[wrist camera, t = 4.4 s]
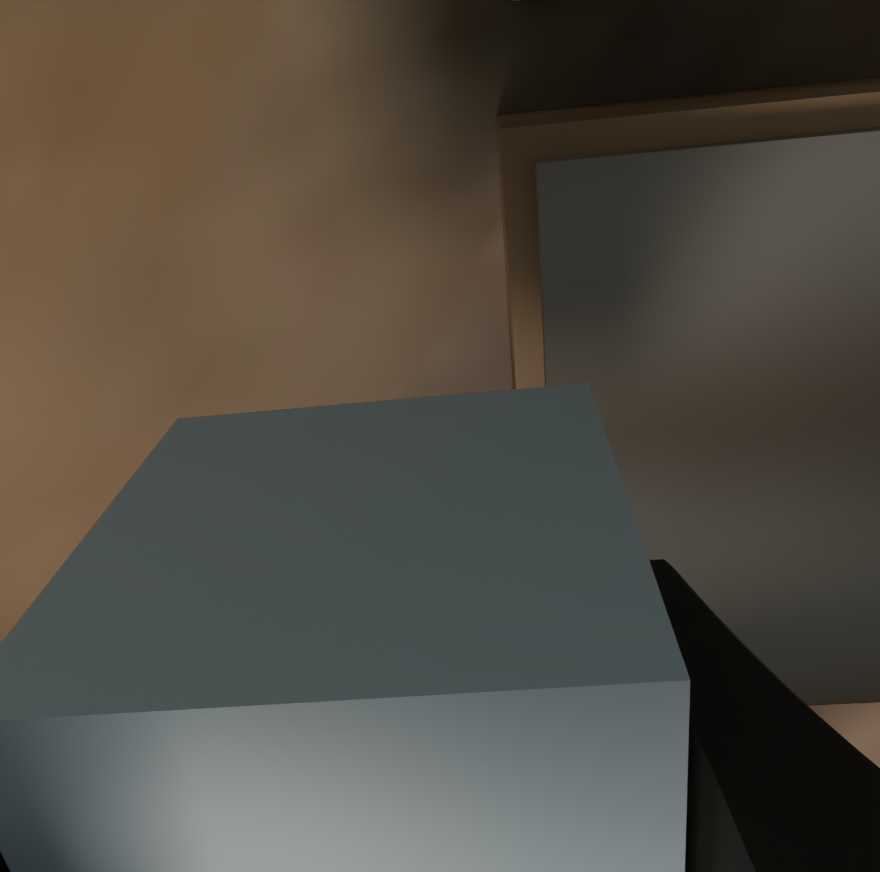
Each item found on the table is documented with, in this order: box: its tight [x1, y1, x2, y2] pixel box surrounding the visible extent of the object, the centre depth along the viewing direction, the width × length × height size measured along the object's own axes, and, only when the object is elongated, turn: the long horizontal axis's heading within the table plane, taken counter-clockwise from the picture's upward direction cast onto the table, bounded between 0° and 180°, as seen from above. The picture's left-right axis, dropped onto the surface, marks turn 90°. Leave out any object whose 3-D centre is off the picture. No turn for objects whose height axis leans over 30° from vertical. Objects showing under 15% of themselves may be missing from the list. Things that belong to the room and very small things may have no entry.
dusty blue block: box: [0, 383, 690, 872], centre depth 9 cm, size 5×5×5 cm
